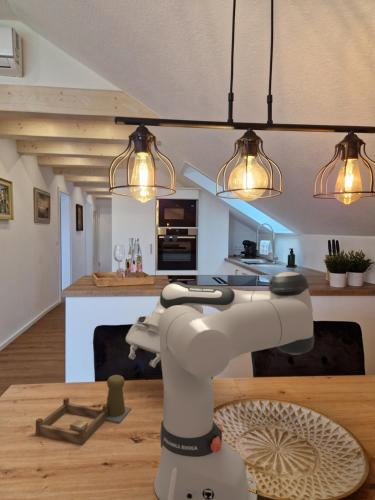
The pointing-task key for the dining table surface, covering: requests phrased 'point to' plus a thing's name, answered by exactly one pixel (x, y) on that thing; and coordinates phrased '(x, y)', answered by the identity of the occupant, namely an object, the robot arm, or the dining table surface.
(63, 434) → the frame
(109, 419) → the slate coaster
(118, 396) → the cork
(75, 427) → the offcut stack
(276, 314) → the robot arm
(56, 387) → the dining table surface
